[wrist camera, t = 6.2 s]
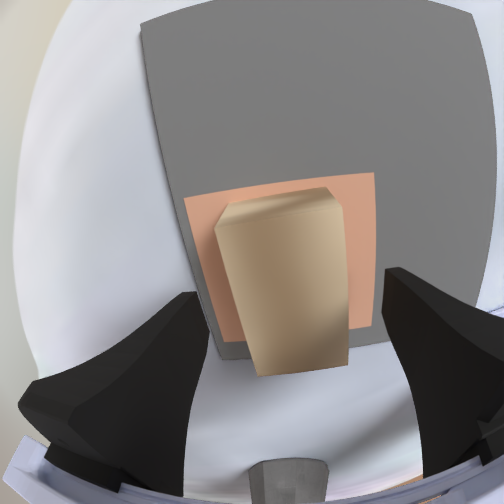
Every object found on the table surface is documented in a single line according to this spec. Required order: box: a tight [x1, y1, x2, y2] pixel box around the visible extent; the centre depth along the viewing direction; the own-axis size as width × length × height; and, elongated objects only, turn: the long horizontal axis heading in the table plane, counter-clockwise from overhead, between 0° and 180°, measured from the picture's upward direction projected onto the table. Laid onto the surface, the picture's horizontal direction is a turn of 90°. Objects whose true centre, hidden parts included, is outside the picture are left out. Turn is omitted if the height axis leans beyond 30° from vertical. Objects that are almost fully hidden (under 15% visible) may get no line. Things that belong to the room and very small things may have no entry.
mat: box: [140, 0, 497, 360], centre depth 11 cm, size 18×16×1 cm
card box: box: [214, 186, 349, 377], centre depth 11 cm, size 4×7×3 cm, turn 12°
